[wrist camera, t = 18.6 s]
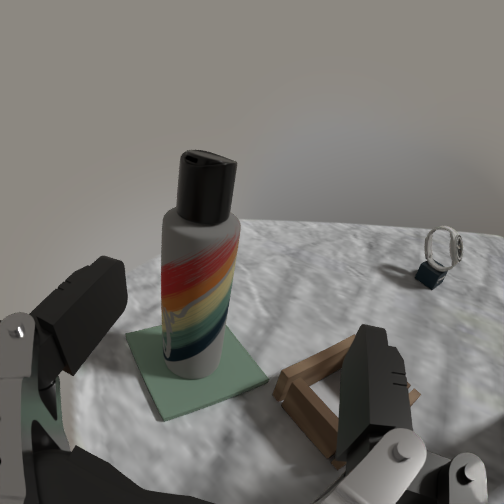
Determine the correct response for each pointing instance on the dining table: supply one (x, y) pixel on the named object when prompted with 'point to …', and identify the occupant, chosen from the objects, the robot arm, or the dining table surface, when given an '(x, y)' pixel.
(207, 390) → the sage mat
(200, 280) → the lotion bottle
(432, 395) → the dining table surface
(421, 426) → the dining table surface
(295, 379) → the walnut holder
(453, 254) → the watch
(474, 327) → the dining table surface
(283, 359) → the dining table surface
